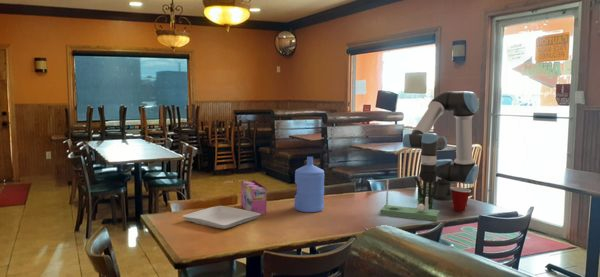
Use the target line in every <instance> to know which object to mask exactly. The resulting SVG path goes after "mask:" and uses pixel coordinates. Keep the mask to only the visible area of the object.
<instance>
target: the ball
mask: <svg viewBox="0 0 600 277" xmlns="http://www.w3.org/2000/svg"><path fill="white" fill-rule="evenodd" d="M416 208H417V210H418V211H419V212H423V211H424V210H425V206H424V205H423V204H419V205H418V206H416Z"/></svg>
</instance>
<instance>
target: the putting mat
mask: <svg viewBox="0 0 600 277" xmlns="http://www.w3.org/2000/svg"><path fill="white" fill-rule="evenodd" d="M379 214H380V215H382V216H390V217H400V218H406V219H407V218H408V219H417V220H426V221H434V222H438V218H439V217H440V210H439V209H436V210H435V209H430V208H428V211H425V210H424V211H423V212H419V211H418V210H417V207H409V206H399V205H391V204H388V206H386V204H385V205H384V206H382V208H380V211H379Z"/></svg>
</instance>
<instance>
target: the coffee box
mask: <svg viewBox="0 0 600 277" xmlns="http://www.w3.org/2000/svg"><path fill="white" fill-rule="evenodd" d="M420 184H421V183H420ZM421 189H422V193H423V184H421ZM428 190H429V183H427V184H426V197H428ZM431 194H433V185H432V190H431ZM419 204H423V205H424V206H425V204H424V203H423V197H422V196H420V195H419V191H418V190H417V204H416V205H417V206H418V205H419ZM433 204H434V199H433V197H431V203H430V204H429V206H428V209H434V208H433V207H434V205H433ZM417 206H416V207H417Z"/></svg>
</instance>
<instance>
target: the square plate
mask: <svg viewBox="0 0 600 277" xmlns="http://www.w3.org/2000/svg"><path fill="white" fill-rule="evenodd" d="M260 216H261V214H260V213H256V212H251V211H247V210H246V209H244V208H243V209H242V208H237V207H232V206H226V205H225V206H224V205H216V206H213V207H208V208H205V209H204V208H203V209H200V210H197V211H194V212H190V213H187V214H183V215H181V217H182V218H183V219H184V220H186V221H187V222H191V223H195V224H197V225H201V226H206V227H211V228H216V229H223V230H224V229H225V230H226V229H230V228H233V227H236V226H239V225H241V224H244V223H247V222H250V221H253V220H256V219H257V218H259V217H260Z"/></svg>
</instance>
